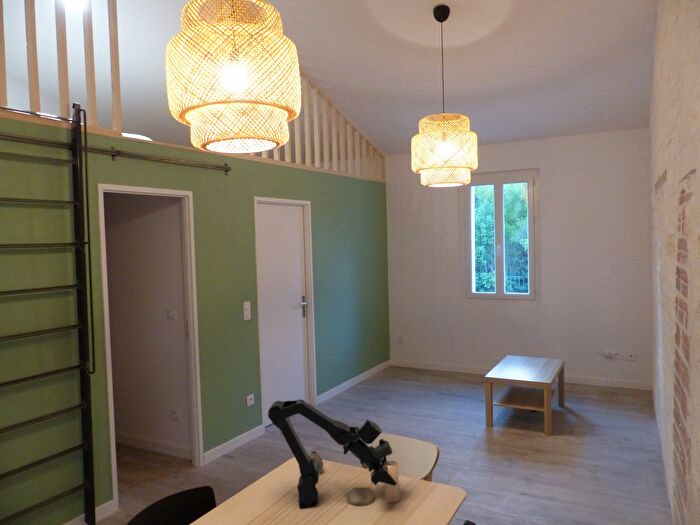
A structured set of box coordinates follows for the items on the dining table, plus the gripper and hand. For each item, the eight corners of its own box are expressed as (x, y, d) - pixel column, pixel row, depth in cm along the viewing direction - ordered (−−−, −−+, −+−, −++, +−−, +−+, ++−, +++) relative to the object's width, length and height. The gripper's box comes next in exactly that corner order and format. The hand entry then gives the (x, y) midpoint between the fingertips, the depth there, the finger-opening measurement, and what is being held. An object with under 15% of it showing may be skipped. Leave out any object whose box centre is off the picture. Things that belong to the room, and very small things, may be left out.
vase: (316, 478, 209) (314, 456, 209) (303, 474, 213) (301, 453, 213) (327, 471, 215) (325, 450, 214) (314, 467, 219) (313, 447, 218)
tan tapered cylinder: (387, 503, 185) (385, 467, 185) (383, 496, 190) (381, 461, 190) (401, 501, 186) (399, 465, 186) (397, 494, 191) (395, 459, 191)
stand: (349, 508, 184) (349, 502, 184) (344, 495, 194) (344, 489, 194) (377, 503, 186) (376, 498, 186) (370, 490, 196) (370, 485, 196)
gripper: (379, 446, 178) (412, 476, 178) (377, 426, 197) (408, 454, 197) (357, 469, 179) (391, 500, 179) (357, 448, 197) (388, 475, 198)
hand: (395, 480), depth 188 cm, fingers closed on tan tapered cylinder, 5 cm apart
